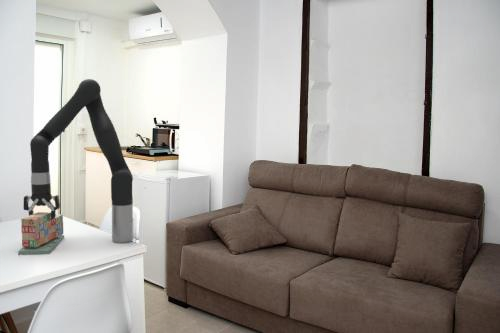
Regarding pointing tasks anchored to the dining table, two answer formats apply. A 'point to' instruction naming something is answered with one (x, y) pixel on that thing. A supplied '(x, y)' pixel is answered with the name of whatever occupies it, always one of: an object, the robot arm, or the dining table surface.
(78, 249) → the dining table surface
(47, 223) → the stack of blocks
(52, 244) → the baseplate
